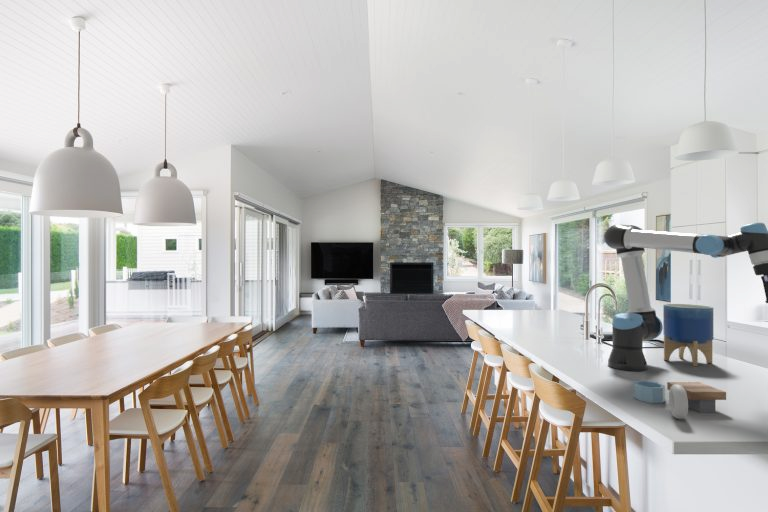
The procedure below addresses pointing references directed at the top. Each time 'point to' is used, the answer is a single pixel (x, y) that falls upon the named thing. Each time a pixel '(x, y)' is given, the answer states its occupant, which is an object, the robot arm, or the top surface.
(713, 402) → the block
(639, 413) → the top surface
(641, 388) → the bowl
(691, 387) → the board
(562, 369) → the top surface
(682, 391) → the donut
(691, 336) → the planter
